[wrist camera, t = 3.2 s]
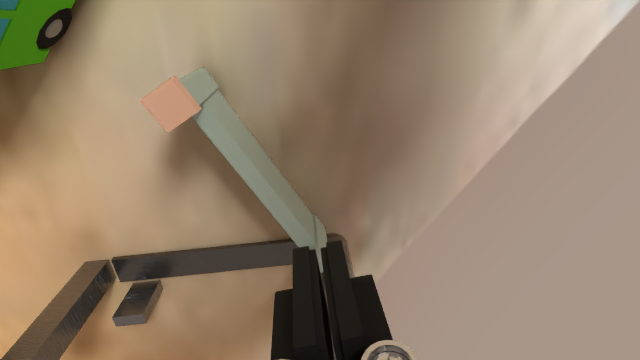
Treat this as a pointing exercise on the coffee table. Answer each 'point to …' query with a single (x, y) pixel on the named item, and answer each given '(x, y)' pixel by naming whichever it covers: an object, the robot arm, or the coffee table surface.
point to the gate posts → (139, 289)
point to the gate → (236, 151)
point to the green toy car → (31, 29)
